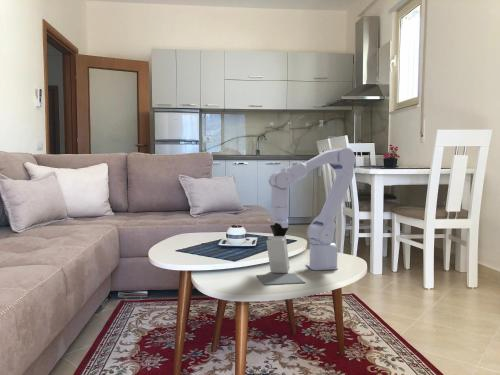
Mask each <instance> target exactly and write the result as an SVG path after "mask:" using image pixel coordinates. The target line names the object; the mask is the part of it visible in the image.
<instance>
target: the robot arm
mask: <svg viewBox="0 0 500 375" xmlns="http://www.w3.org/2000/svg"><path fill="white" fill-rule="evenodd" d="M356 161H357V158H356V155H355V153H354V150H352V149H351V148H349V147H343V148H330V149H327V150H324V151H323V152H321V153H320V154H318V155H316V156H313V157H312V158H311V159H309V160H307V161H304V162H301V161H293V162H292V164H291V165H289V166H287V167H282V168H280V171H274V172H273V173H271V175H270V177H269V179H268V184H269V185H270V187H271V194H270V199H271V200H270V201H271V202H270V203H271V204H270V206H271V207H270V213H271V214H270V218H268V219H267V222H269V223H270V222H271V223H274V224H270V225H269V227H270V230H271V232H272V236H286V235H287V234H286V233H287V232H288V230H289V214H288V213H289V211H288V209H289V187H290V186H291V185H292V184H293V183H296V182H298V181H299V180H302V179H303V178H305V177H307V175H308V173H309V172H310V171H311V170H312V171H313V170H314V169H316V168H318V167H321V166H324V165H325V164H328V165H329V166H330V167H331V168H332V169H333V171H334V173H335V175H336V177H335V180H334V181H333V184H332V187H331V189H330V190H329V193H328V195H327V197H326V199H325V202H324V204H323V207H322V209H321V211H320V213H319V215H317V216H316V217H314V218H313V221H312V222H311V223H310V224H309V225H308V226H307V229H306V236H307V237H308V238H309V263H305V266H306V267H307V268H308V269H309V268H310V270H312V271H324V270H325V271H326V270H328V271H329V270H338V268H339V267H338V247H337V244H336V243H335V242H333V240H334V239H335V238H334V237H335V230H336V227H337V226H336V223H335V219H336V218H337V214H338V212H339V210H340V207H341V205H342V203H343V201H344V199H345V196H346V194H347V192H348V189H349V188H350V185H351V183H352V180H353V179H354V169H355V163H356Z"/></svg>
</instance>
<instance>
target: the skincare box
mask: <svg viewBox="0 0 500 375" xmlns="http://www.w3.org/2000/svg"><path fill="white" fill-rule="evenodd" d="M265 242H266V249H267V254H268V262H269V268H270V274H271V273H272V274H288V272H289V270H290V267H291V266H290V259H289V258H290V257H289V251H288V243H287V236H286V235H285V236H274V235H272V236H271V235H269V236H268V237H267V239H266V240H265Z"/></svg>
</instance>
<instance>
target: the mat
mask: <svg viewBox="0 0 500 375" xmlns="http://www.w3.org/2000/svg"><path fill="white" fill-rule="evenodd" d="M255 277H257V278H258V280H259V281H260V282H261V283H262V284H263V285H264V286H277V285H279V286H281V285H293V284H294V285H296V284H297V285H298V284H299V285H300V284H306V282H305V281H304V280H303V279H302V278H300V277H299V276H298V275H297V274H295V273H294V272H293V273H291V272H290V273H272V274H271V273H270V274H256V276H255Z"/></svg>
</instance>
